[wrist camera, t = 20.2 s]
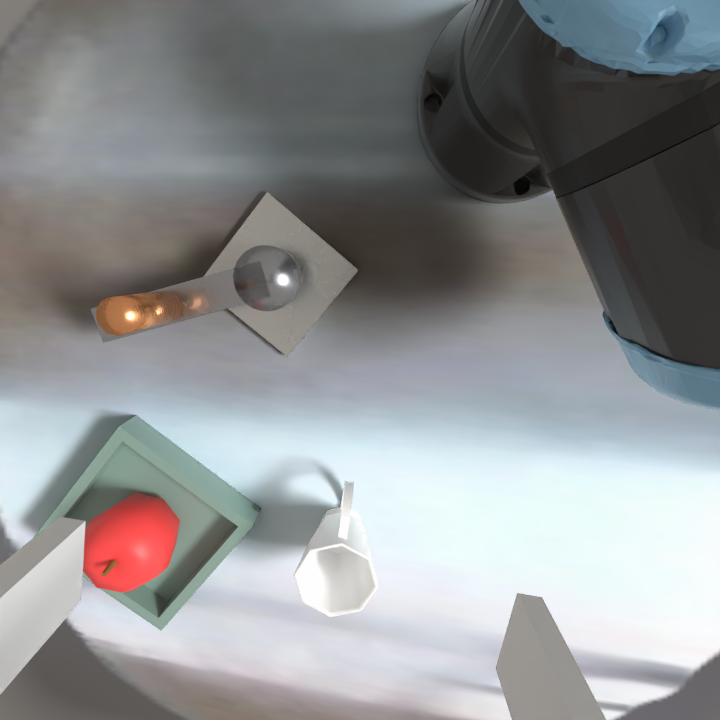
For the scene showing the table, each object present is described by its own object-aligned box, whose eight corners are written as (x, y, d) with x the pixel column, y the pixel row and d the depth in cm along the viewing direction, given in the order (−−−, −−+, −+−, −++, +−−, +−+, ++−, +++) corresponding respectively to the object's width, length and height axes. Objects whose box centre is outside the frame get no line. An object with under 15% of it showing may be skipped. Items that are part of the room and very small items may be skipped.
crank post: (269, 193, 38) (260, 187, 35) (358, 270, 40) (357, 270, 37) (200, 283, 40) (186, 285, 37) (288, 354, 41) (282, 362, 38)
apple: (206, 511, 44) (170, 564, 36) (164, 569, 45) (122, 633, 37) (135, 466, 43) (83, 511, 35) (95, 527, 44) (37, 583, 37)
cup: (302, 551, 45) (288, 611, 38) (314, 460, 43) (303, 504, 36) (370, 561, 46) (371, 623, 38) (386, 471, 44) (390, 516, 36)
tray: (136, 415, 43) (118, 426, 40) (260, 508, 45) (253, 525, 42) (52, 523, 45) (30, 541, 42) (174, 607, 47) (161, 630, 44)
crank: (291, 239, 36) (265, 229, 26) (309, 300, 37) (289, 311, 27) (99, 293, 37) (9, 302, 28) (121, 351, 38) (42, 378, 29)
